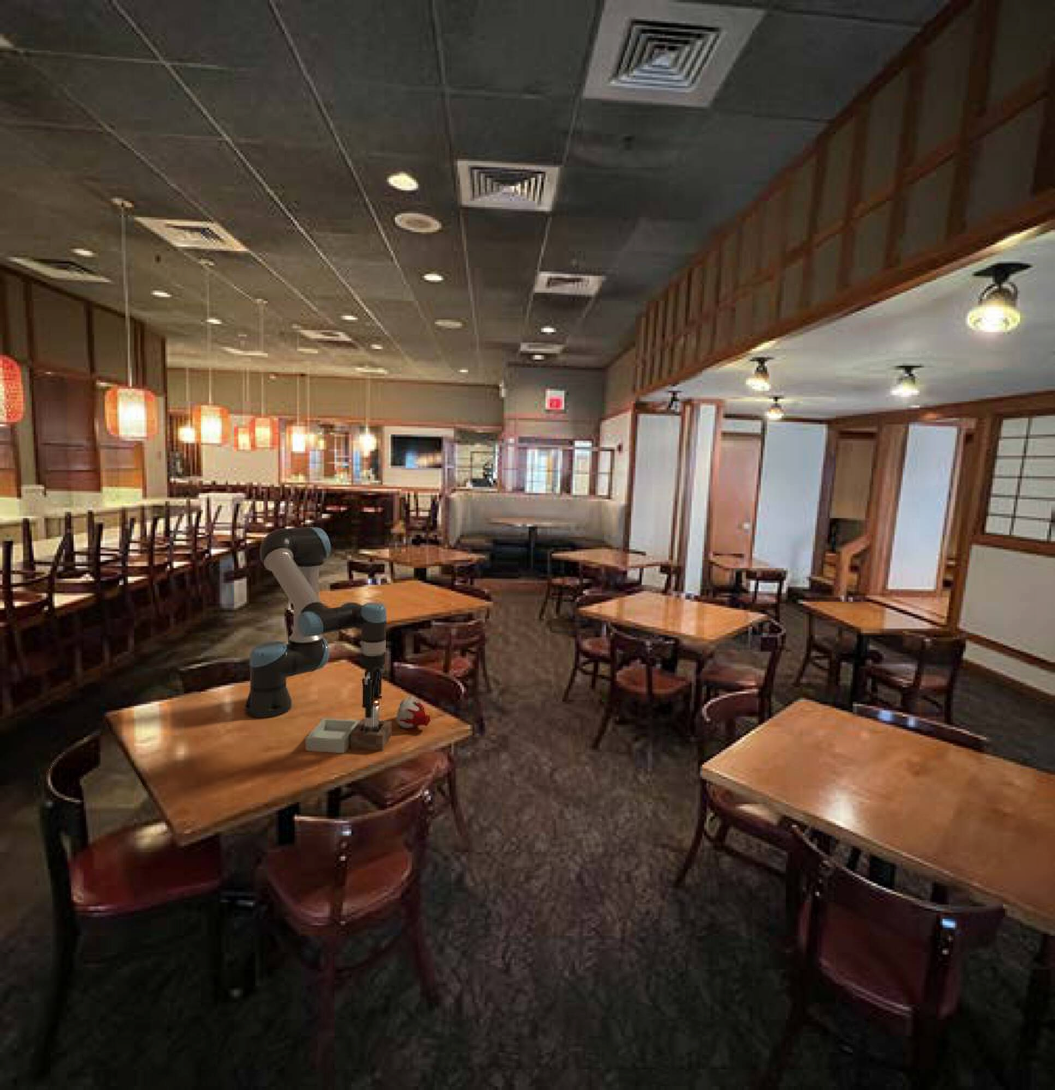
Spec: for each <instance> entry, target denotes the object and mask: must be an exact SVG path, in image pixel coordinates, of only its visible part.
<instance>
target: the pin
mask: <svg viewBox="0 0 1055 1090" xmlns="http://www.w3.org/2000/svg"><path fill="white" fill-rule="evenodd" d="M373 706H374V726H373V727H369V726H365V731H367V732H379V721H380V699H378V698H374V701H373Z"/></svg>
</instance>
